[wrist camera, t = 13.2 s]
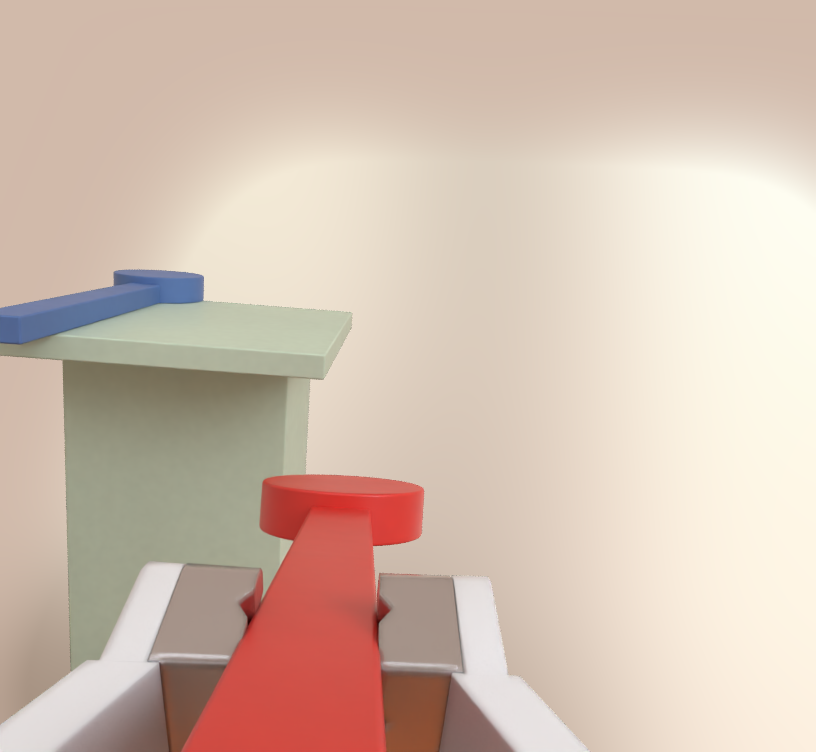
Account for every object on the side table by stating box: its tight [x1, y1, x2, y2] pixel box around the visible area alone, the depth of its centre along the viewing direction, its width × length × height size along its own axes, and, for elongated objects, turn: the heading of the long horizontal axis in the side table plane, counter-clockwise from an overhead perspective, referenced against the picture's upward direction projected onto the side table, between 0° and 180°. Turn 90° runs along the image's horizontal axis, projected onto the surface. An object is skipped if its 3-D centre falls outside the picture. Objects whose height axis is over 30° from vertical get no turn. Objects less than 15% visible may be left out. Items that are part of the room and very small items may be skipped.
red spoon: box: [181, 475, 424, 752], centre depth 14 cm, size 18×5×1 cm, turn 3°
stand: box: [0, 301, 352, 671], centre depth 36 cm, size 14×14×27 cm
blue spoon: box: [0, 270, 204, 345], centre depth 32 cm, size 18×5×1 cm, turn 0°
